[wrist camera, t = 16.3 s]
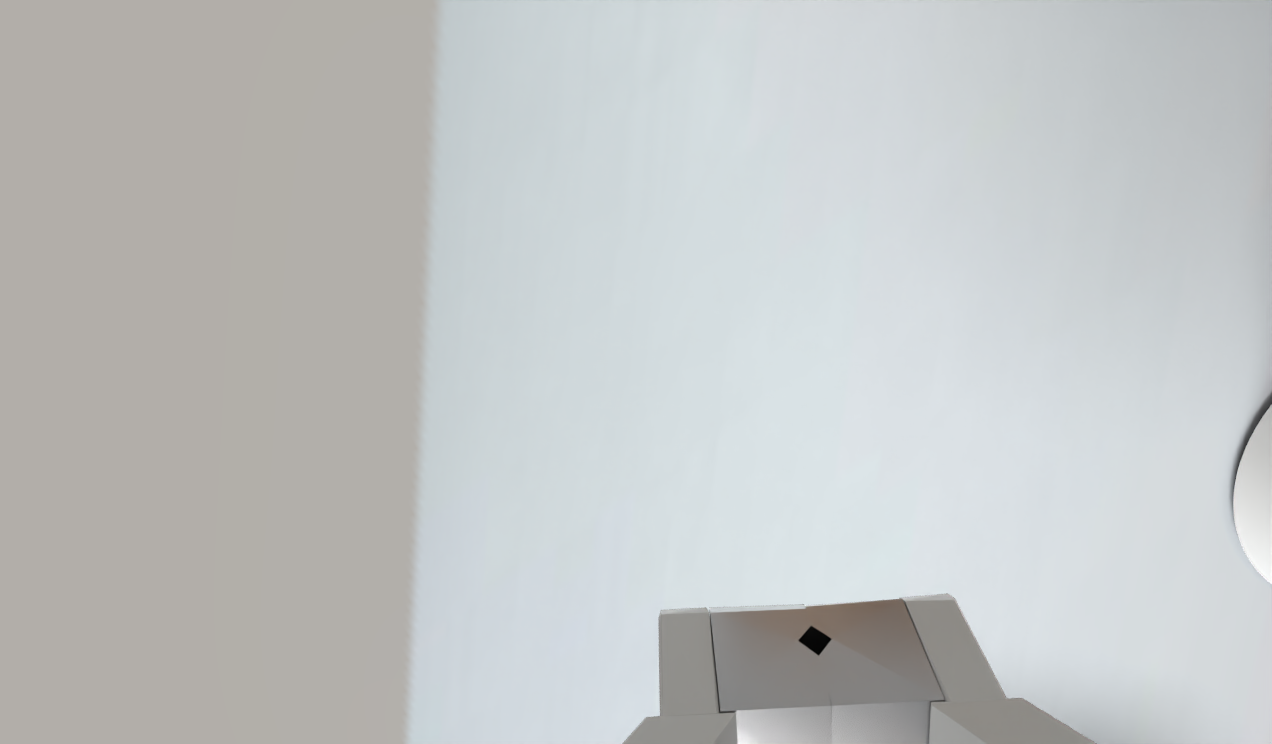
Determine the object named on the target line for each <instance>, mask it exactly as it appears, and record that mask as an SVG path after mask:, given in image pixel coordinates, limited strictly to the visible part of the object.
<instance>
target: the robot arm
mask: <svg viewBox="0 0 1272 744" xmlns="http://www.w3.org/2000/svg"><path fill="white" fill-rule="evenodd" d="M1233 510H1234V520H1235V526H1236V531H1237V535H1238V538H1239V540H1240V543H1241V546H1242V548H1243V550H1244V552H1245V554H1246V556H1247V557H1248V559H1249V561H1250V562H1251V563H1252V565H1253V566H1254V568H1255V569H1256V570H1257V571H1258V572H1259V573H1260V574H1261V575H1262V577H1264V578H1265V579H1266V580H1267V581H1268V582H1269V583H1270V584H1272V405H1271V406H1270V407H1269V409H1268V410H1267V411H1266V413H1265V414H1264V416H1263V417H1262V419H1261V420H1260V422H1259V423H1258V425H1257V427H1256V428H1255V430H1254V432H1253V434H1252V436H1251V438H1250V439H1249V442H1248V444H1247V446H1246V448H1245V451H1244V453H1243V456H1242V459H1241V461H1240V465H1239V468H1238V472H1237V476H1236V481H1235V487H1234V498H1233ZM709 615H710V616H709ZM659 683H660V716H656V717H646V718H645V719H644V720H643V721H642V722H641V723H640V724H639V725H638V727H637V728H636V729H635V730H634V731H633V732H632V733H631V734H630V736H629V737H628V738H627V739H626V740H625V741H624V742H623V743H622V744H1096V743H1095V742H1093V741H1091V740H1090V739H1088V738H1086V737H1085V736H1083V735H1082V734H1080V733H1078V732H1077V731H1075V730H1073V729H1072V728H1070V727H1068V726H1067V725H1065V724H1064V723H1062V722H1060V721H1059V720H1057V719H1055V718H1054V717H1052V716H1051V715H1049V714H1047V713H1046V712H1044V711H1042V710H1041V709H1039V708H1037V707H1036V706H1034V705H1033V704H1031V703H1029V702H1028V701H1026V700H1024V699H1023V698H1011V699H1007V698H1006V696H1005V694H1004V692H1003V690H1002V688H1001V686H1000V684H999V682H998V680H997V678H996V677H995V675H994V673H993V671H992V669H991V667H990V665H989V663H988V661H987V659H986V657H985V655H984V653H983V652H982V650H981V648H980V646H979V644H978V642H977V640H976V638H975V636H974V634H973V632H972V630H971V628H970V627H969V625H968V623H967V621H966V619H965V617H964V615H963V613H962V611H961V609H960V607H959V605H958V603H957V601H956V600H955V598H954V597H952V596H951V595H949V594H937V595H925V596H914V597H902V598H899V599H893V600H878V601H863V602H847V603H832V604H817V605H804V604H798V605H768V606H739V607H709V611H708V610H707V608H689V609H671V610H661V611H660V614H659Z"/></svg>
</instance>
